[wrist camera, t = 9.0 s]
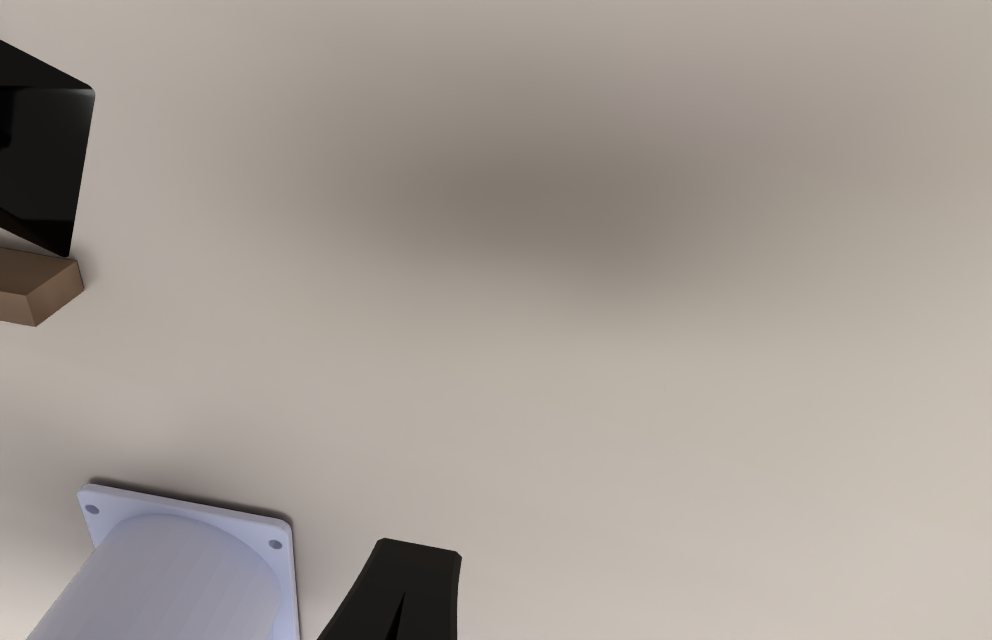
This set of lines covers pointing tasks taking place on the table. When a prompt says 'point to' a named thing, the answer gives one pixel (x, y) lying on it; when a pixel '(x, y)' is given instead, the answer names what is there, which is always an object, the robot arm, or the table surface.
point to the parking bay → (35, 286)
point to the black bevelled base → (41, 148)
